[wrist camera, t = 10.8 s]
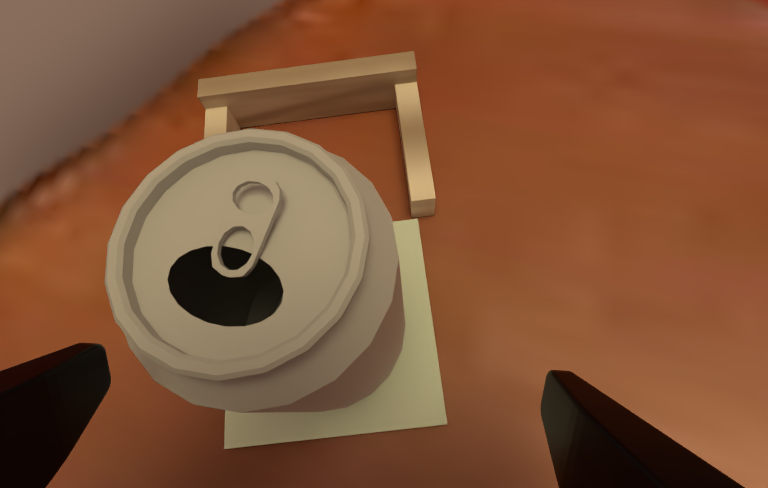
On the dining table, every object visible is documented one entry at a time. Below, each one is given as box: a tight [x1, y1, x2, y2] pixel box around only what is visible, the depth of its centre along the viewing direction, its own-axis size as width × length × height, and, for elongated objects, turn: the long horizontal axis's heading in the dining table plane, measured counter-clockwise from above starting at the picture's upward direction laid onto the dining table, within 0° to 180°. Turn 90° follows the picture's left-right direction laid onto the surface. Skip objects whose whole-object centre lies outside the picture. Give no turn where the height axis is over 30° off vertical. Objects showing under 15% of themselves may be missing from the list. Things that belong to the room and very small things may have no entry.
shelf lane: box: [197, 51, 436, 218], centre depth 24 cm, size 8×12×3 cm
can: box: [105, 128, 406, 413], centre depth 16 cm, size 8×8×12 cm
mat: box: [224, 219, 447, 449], centre depth 21 cm, size 10×10×1 cm
